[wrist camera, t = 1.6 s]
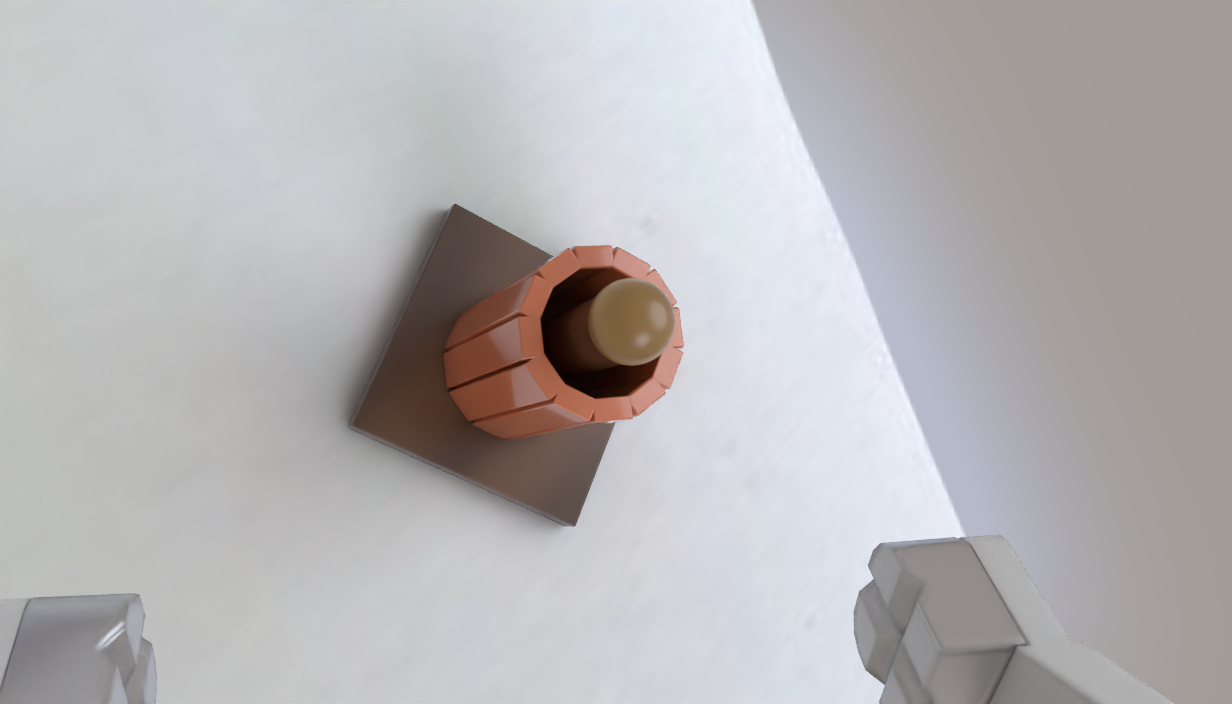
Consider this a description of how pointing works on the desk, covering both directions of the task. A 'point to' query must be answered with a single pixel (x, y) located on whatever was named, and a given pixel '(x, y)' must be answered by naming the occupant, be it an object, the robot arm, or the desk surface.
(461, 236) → the holder
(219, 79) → the desk surface
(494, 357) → the orange slatted tube
